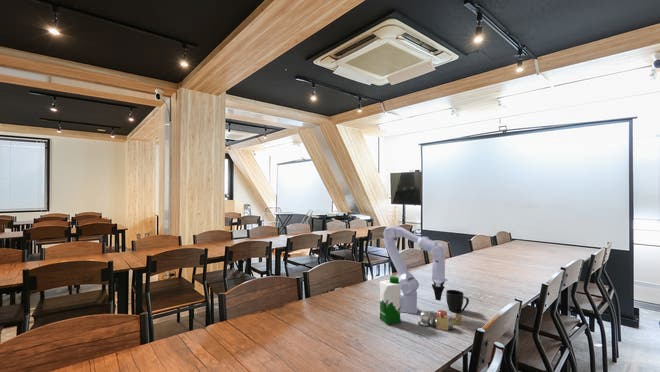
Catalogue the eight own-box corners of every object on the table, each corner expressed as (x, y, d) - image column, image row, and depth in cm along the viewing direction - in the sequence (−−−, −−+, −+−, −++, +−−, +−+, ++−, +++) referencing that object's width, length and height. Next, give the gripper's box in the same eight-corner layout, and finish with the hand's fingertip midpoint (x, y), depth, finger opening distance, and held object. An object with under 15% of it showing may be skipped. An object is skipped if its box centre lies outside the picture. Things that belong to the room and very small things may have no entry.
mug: (461, 318, 143) (461, 298, 144) (442, 309, 154) (442, 290, 154) (473, 315, 147) (473, 296, 147) (454, 306, 158) (454, 288, 158)
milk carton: (403, 323, 136) (403, 279, 136) (386, 326, 133) (386, 281, 133) (392, 316, 144) (393, 274, 145) (376, 318, 141) (377, 276, 141)
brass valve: (431, 327, 132) (431, 312, 132) (431, 323, 137) (431, 308, 137) (453, 331, 129) (453, 315, 129) (453, 327, 133) (453, 311, 134)
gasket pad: (417, 325, 134) (417, 325, 134) (418, 320, 139) (418, 320, 139) (430, 327, 132) (430, 327, 132) (430, 322, 137) (430, 322, 137)
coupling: (420, 325, 134) (420, 314, 134) (420, 321, 138) (420, 310, 138) (430, 326, 133) (430, 315, 133) (430, 322, 137) (430, 311, 137)
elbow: (452, 324, 136) (452, 315, 136) (451, 322, 138) (451, 314, 138) (461, 324, 136) (461, 316, 136) (459, 323, 138) (459, 314, 138)
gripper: (447, 273, 135) (447, 303, 135) (447, 266, 149) (447, 294, 148) (431, 272, 138) (430, 301, 137) (432, 265, 151) (432, 292, 151)
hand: (438, 297), depth 143 cm, fingers open, 7 cm apart
